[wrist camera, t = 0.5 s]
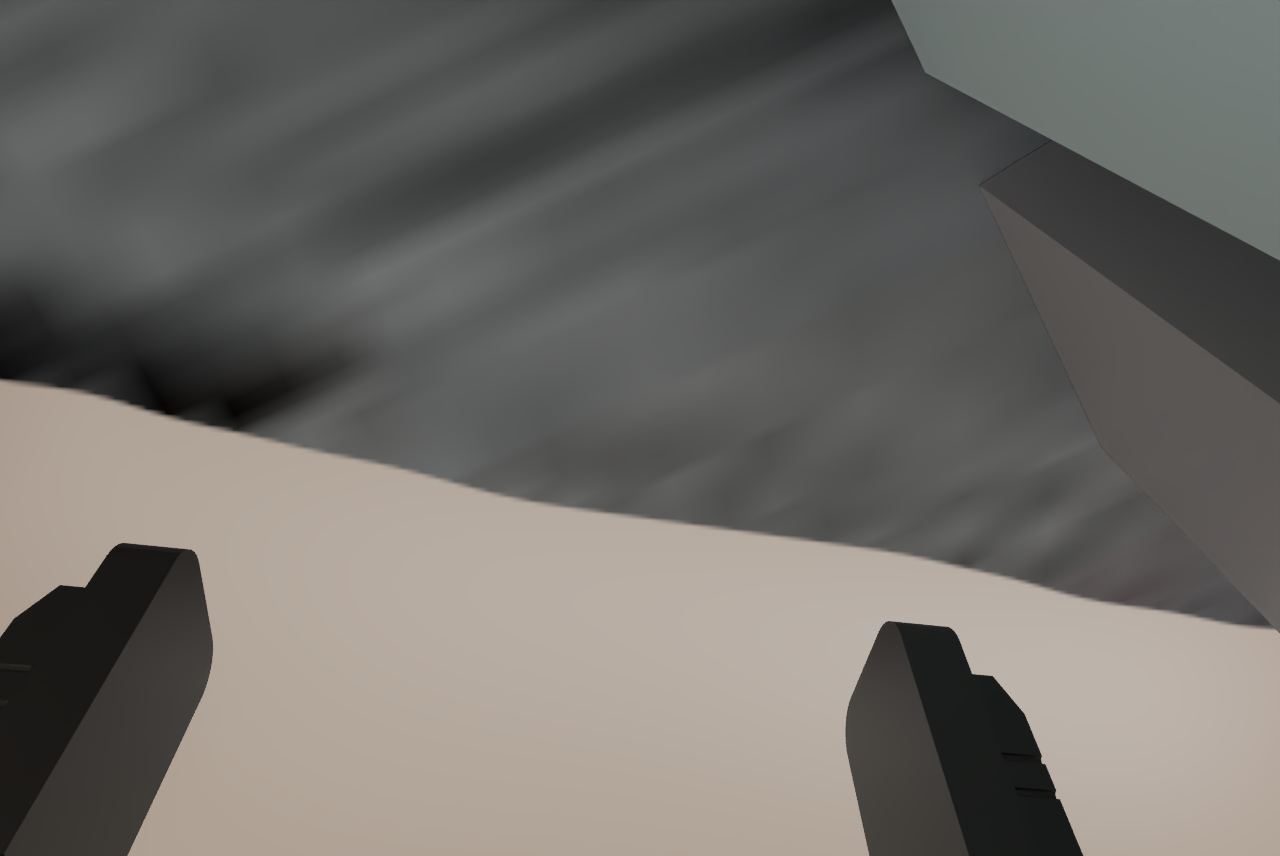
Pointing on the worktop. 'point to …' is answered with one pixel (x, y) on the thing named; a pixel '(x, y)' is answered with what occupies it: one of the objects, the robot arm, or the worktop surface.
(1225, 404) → the gray box
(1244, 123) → the teal cabinet
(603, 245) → the worktop surface
